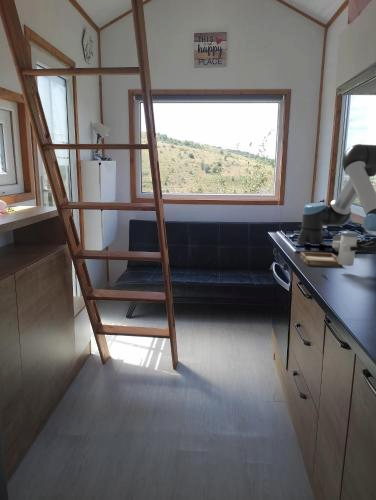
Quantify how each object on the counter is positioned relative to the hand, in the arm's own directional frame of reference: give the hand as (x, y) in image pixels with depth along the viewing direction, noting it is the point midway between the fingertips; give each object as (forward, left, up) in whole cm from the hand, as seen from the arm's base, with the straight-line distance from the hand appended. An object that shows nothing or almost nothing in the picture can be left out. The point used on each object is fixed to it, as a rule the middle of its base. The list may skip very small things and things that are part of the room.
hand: (337, 246), depth 168 cm
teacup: (-36, +29, -12) cm, 48 cm away
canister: (0, +5, -8) cm, 9 cm away
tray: (-18, +5, -12) cm, 22 cm away
